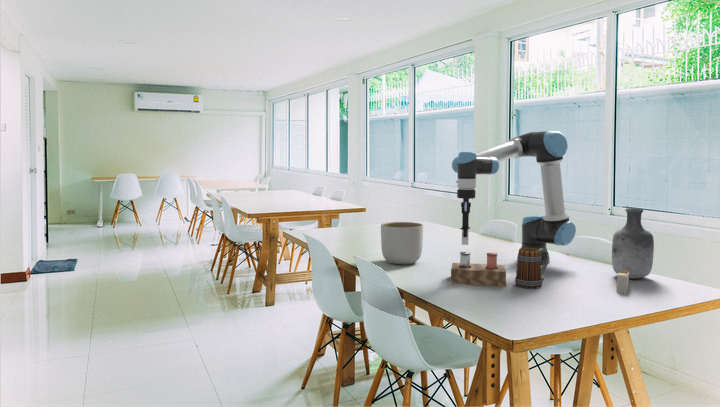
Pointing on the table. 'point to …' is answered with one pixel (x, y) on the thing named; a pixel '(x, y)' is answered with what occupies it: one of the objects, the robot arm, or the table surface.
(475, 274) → the socket block
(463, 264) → the plug grey
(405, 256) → the planter
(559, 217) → the robot arm
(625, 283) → the model
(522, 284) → the mug
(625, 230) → the vase
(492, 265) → the plug red
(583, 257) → the table surface
